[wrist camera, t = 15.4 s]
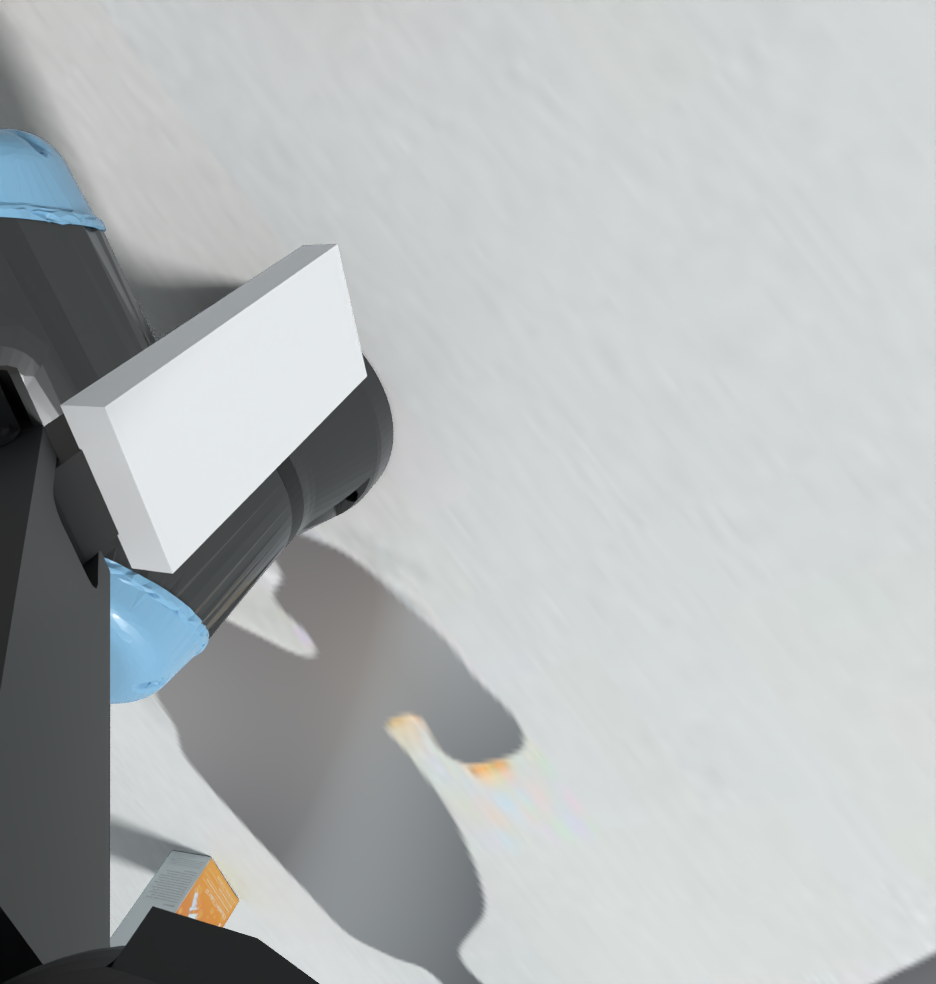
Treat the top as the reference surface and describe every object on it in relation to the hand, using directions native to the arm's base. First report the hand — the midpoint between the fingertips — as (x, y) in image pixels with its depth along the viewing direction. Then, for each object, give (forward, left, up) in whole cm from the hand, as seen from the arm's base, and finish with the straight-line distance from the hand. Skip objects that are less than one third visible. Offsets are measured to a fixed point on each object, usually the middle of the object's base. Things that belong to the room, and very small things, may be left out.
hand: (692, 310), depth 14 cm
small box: (-60, -81, -29) cm, 105 cm away
